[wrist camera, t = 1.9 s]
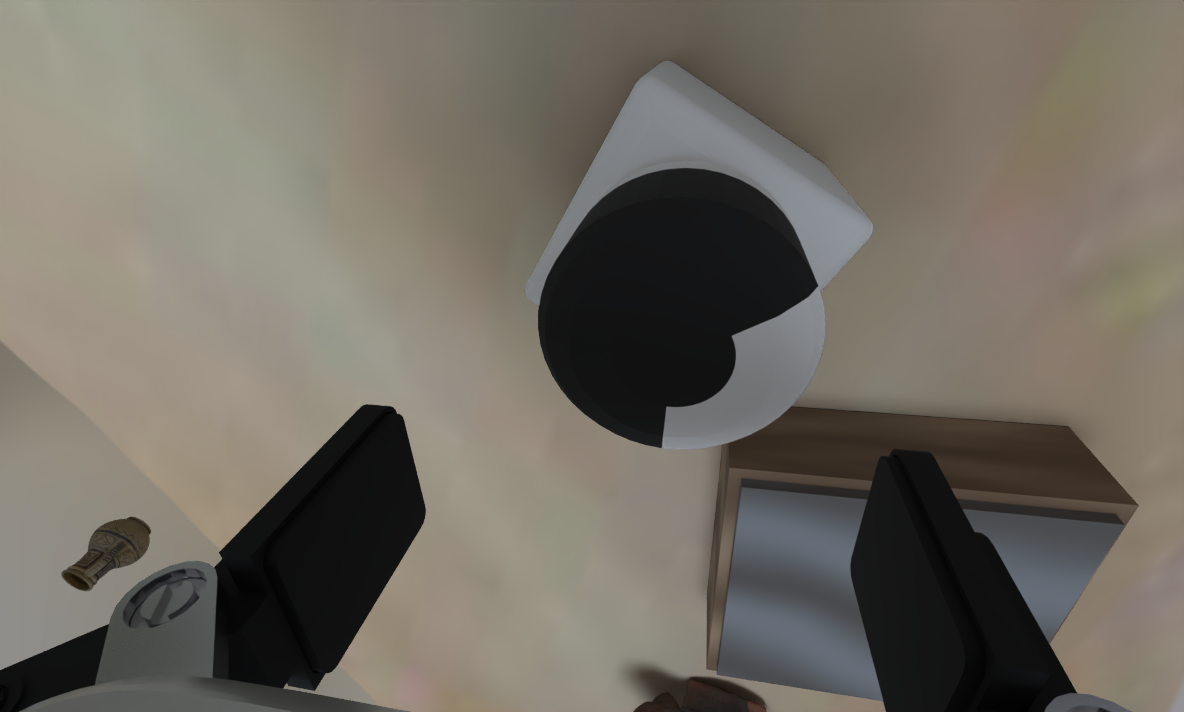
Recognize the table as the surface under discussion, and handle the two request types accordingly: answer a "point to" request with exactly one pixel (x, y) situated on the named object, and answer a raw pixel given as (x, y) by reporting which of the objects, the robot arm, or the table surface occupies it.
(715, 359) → the medicine bottle
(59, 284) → the table surface
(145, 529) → the brown patterned vase
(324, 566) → the robot arm
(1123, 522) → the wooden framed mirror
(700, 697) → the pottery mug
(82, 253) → the table surface
